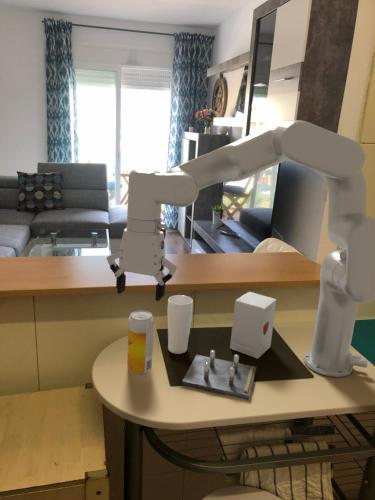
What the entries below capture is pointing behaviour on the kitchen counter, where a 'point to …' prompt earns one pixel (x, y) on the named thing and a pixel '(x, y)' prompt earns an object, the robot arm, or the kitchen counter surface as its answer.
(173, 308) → the drinking glass
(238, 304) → the supplement box
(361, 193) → the robot arm
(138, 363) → the beer can
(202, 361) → the plate
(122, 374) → the kitchen counter surface
